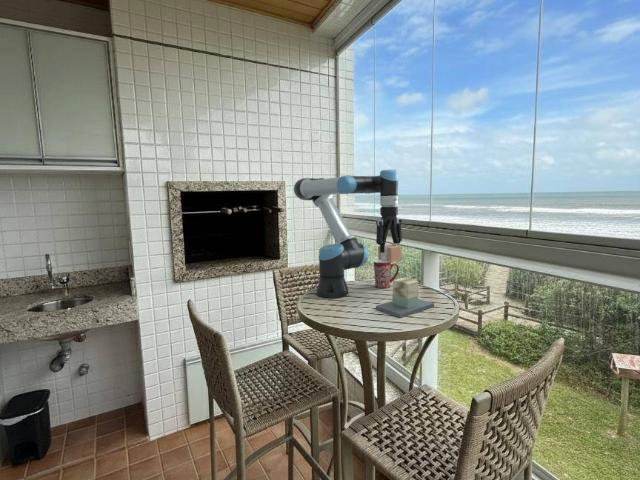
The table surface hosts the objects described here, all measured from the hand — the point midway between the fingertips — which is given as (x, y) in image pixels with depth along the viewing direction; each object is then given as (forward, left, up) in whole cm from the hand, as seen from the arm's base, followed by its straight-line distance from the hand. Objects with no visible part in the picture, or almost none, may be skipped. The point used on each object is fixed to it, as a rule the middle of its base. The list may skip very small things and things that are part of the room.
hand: (389, 258), depth 147 cm
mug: (-15, +13, -18) cm, 27 cm away
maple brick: (+14, -5, -13) cm, 19 cm away
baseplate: (+13, -5, -18) cm, 23 cm away
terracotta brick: (0, 0, 0) cm, 1 cm away
